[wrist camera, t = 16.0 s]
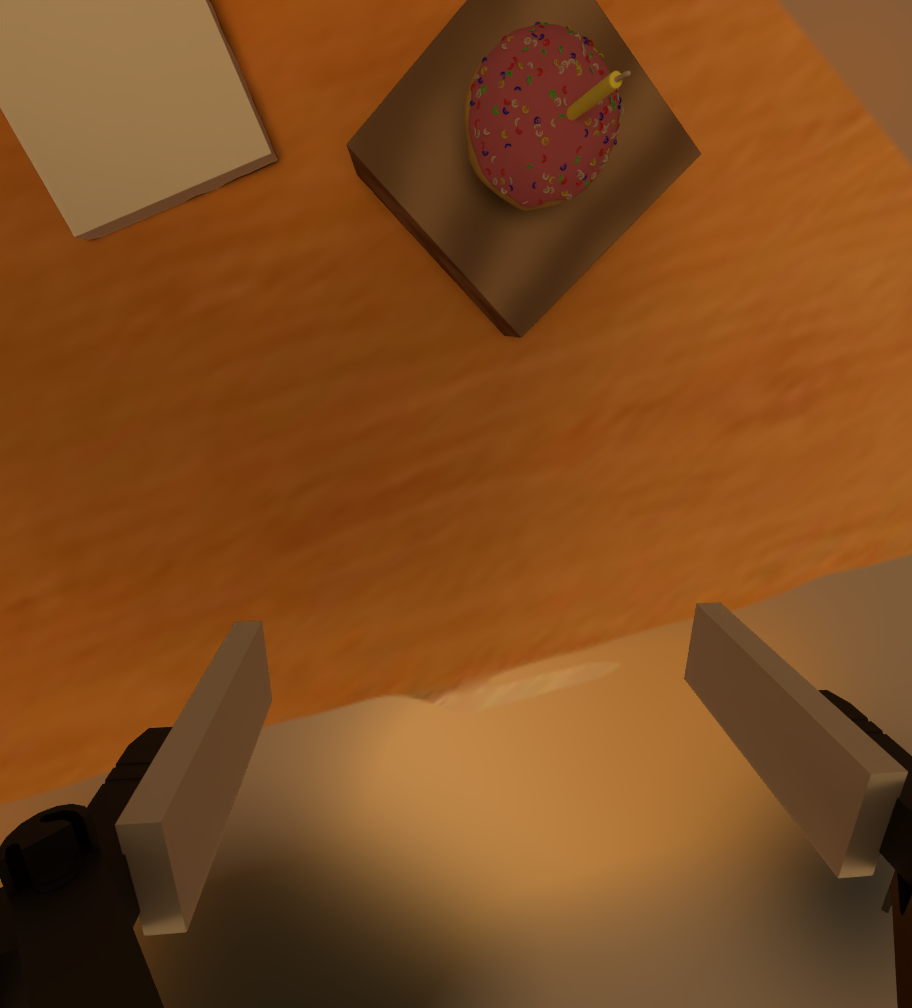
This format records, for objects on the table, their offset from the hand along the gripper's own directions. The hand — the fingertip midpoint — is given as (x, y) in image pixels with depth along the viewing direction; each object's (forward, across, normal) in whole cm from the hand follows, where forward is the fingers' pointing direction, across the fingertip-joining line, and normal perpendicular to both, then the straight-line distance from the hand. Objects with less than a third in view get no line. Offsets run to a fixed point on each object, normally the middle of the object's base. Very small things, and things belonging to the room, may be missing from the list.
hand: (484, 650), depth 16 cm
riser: (+32, +6, +20) cm, 38 cm away
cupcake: (+25, +5, +20) cm, 32 cm away
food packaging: (+32, -22, +27) cm, 48 cm away
